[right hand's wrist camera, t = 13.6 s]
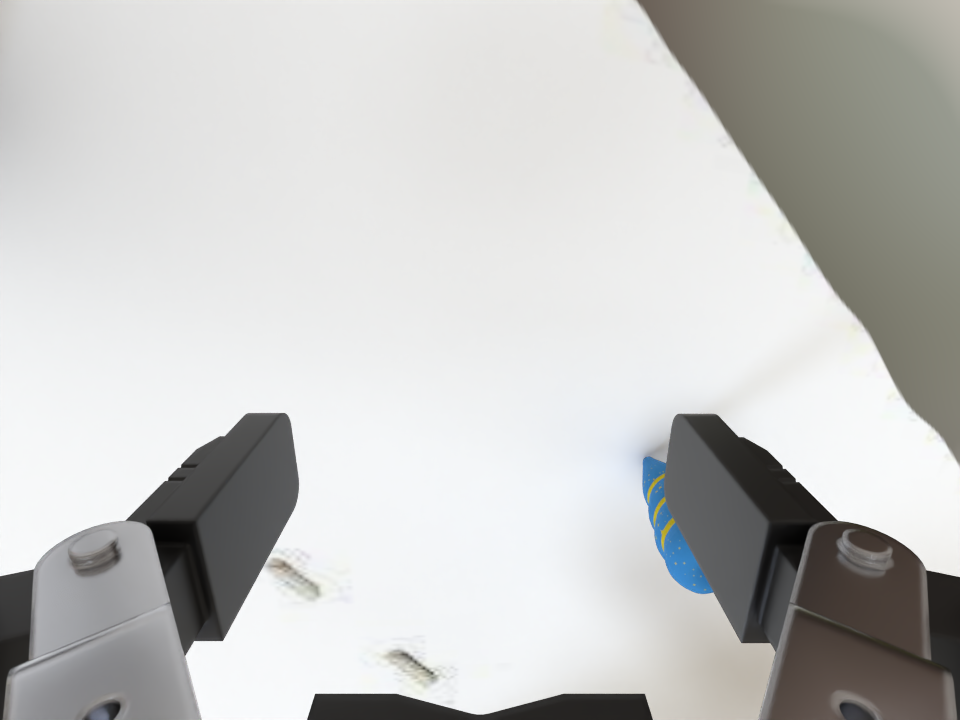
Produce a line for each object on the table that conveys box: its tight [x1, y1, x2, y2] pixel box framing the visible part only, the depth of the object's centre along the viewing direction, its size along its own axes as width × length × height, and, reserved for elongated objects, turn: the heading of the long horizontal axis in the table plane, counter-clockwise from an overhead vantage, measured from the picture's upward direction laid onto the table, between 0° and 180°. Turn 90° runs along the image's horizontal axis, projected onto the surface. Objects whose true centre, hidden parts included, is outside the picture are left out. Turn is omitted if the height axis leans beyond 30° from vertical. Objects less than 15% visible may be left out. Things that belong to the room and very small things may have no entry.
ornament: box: [643, 457, 713, 594], centre depth 37 cm, size 5×5×15 cm
